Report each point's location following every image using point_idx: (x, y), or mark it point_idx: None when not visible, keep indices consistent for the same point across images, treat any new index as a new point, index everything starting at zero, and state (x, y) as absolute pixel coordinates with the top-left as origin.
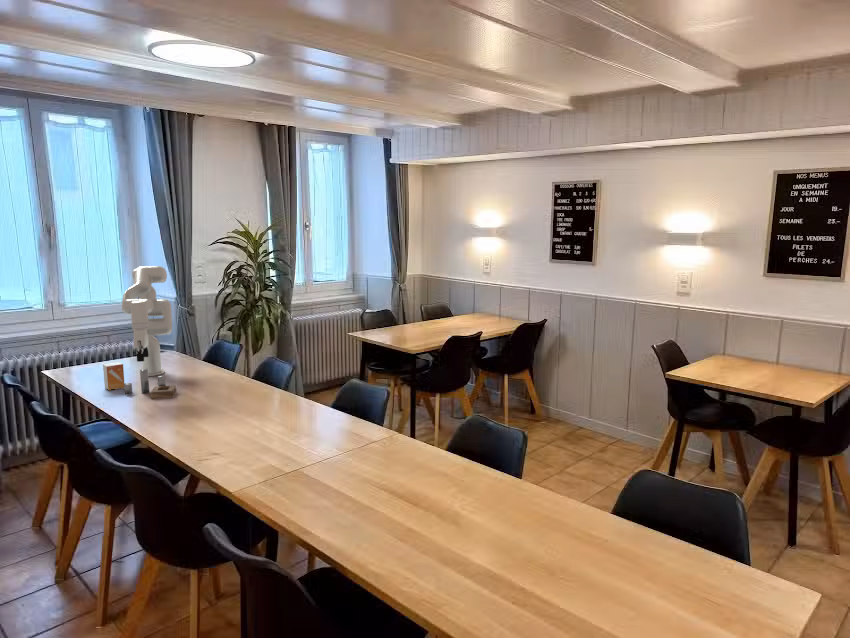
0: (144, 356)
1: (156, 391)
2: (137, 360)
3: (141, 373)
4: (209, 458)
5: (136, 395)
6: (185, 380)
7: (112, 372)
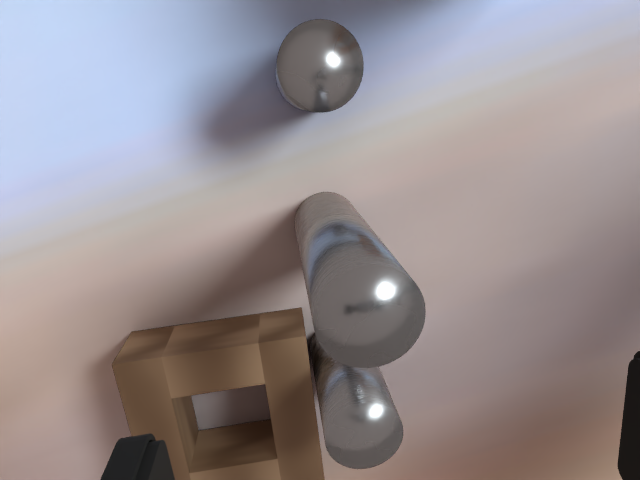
0: (635, 416)
1: (135, 404)
2: (118, 462)
3: (314, 280)
4: None
5: (239, 174)
6: (612, 410)
7: None
